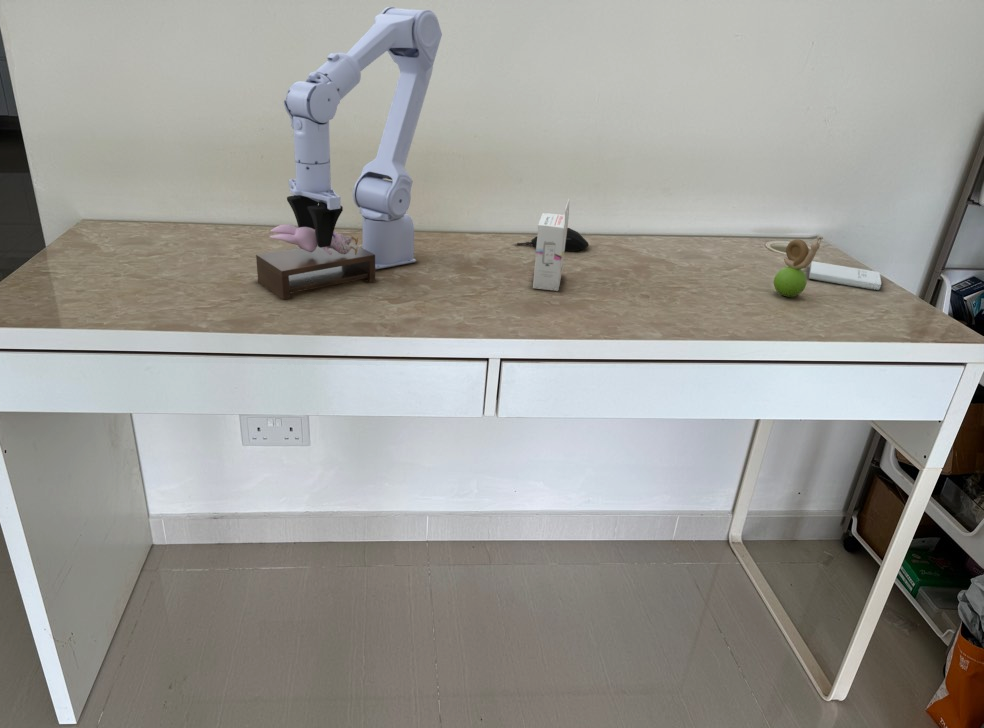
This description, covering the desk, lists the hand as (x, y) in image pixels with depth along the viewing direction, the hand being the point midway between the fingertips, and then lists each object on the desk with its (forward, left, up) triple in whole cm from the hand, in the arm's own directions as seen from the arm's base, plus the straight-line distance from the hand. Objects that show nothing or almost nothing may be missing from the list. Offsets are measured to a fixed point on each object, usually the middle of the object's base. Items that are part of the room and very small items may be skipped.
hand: (315, 241), depth 133 cm
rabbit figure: (0, -1, -2) cm, 2 cm away
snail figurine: (-70, +49, -8) cm, 86 cm away
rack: (0, 0, -7) cm, 7 cm away
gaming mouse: (-53, +5, -8) cm, 53 cm away
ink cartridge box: (-36, +21, -8) cm, 42 cm away
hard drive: (-89, +49, -8) cm, 102 cm away
